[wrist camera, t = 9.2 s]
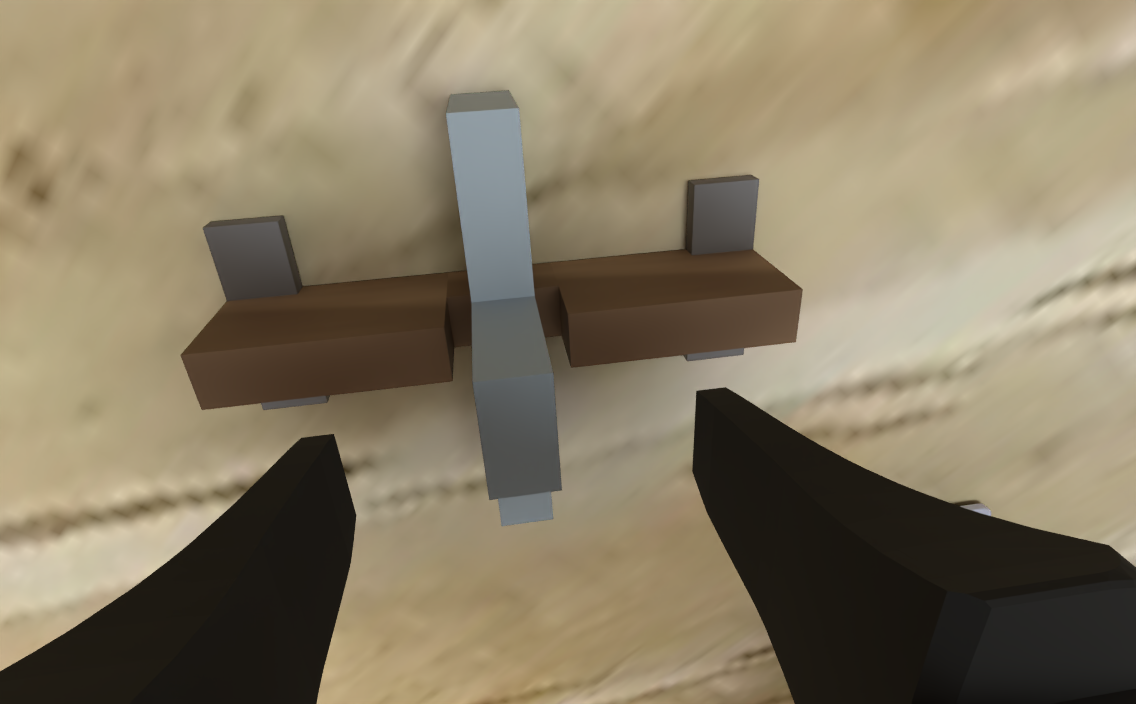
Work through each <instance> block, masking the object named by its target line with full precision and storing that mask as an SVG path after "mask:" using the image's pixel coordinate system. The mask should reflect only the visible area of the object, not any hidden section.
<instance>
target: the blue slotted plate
mask: <svg viewBox="0 0 1136 704" xmlns="http://www.w3.org/2000/svg"><path fill="white" fill-rule="evenodd" d="M446 118H447V125H448V132H449V140H450V147H451V155H452V162H453V169H454V177H455V184H456V192H457V199H458V206H459V214H460V221H461V229H462V236H463V243H464V251H465V258H466V265H467V273H468V280H469V288H470V295H471V302H472V382H473V389H474V396H475V403H476V410H477V417H478V424H479V431H480V438H481V445H482V452H483V459H484V466H485V473H486V480H487V487H488V494H489V500H493V499H498V502H499V509H500V517H501V524H502V526H507V525H514V524H522V523H529V522H536V521H543V520H551V519H553V509H552V497H551V492H553V491H560V490H562V485H561V472H560V458H559V445H558V431H557V417H556V403H555V390H554V376H553V370H552V366H551V361H550V357H549V353H548V349H547V345H546V341H545V337H544V333H543V328H542V324H541V320H540V316H539V312H538V308H537V304H536V299H535V294H534V282H533V270H532V258H531V246H530V234H529V222H528V210H527V198H526V186H525V174H524V162H523V151H522V139H521V127H520V115H519V107H518V105H517V104H516V102H515V100H514V99H513V97H512V95H511V93H510V92H509V90H508V91H494V92H480V93H466V94H451V95H450V98H449V103H448V107H447V111H446Z"/></svg>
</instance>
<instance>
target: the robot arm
mask: <svg viewBox="0 0 1136 704" xmlns="http://www.w3.org/2000/svg"><path fill="white" fill-rule="evenodd" d="M692 471H693V474H694V477H695V480H696V483H697V486H698V489H699V492H700V495H701V497H702V500H703V503H704V505H705V508H706V511H707V513H708V515H709V517H710V519H711V521H712V523H713V525H714V527H715V529H716V531H717V533H718V535H719V537H720V539H721V541H722V543H723V545H724V547H725V549H726V551H727V553H728V554H729V556H730V558H731V560H732V562H733V564H734V566H735V568H736V570H737V572H738V574H739V575H740V577H741V579H742V581H743V583H744V585H745V587H746V589H747V591H748V593H749V595H750V596H751V598H752V600H753V602H754V604H755V606H756V608H757V610H758V613H759V615H760V617H761V619H762V621H763V623H764V625H765V628H766V630H767V633H768V635H769V638H770V640H771V643H772V646H773V648H774V651H775V653H776V656H777V658H778V661H779V663H780V666H781V668H782V671H783V673H784V676H785V679H786V681H787V684H788V687H789V689H790V692H791V695H792V697H793V700H794V703H795V704H1136V567H1135V566H1134V565H1132V564H1131V563H1130V562H1129V561H1127V560H1126V559H1125V558H1124V557H1123V556H1121V555H1120V554H1119V553H1118V552H1117V551H1115V550H1114V549H1113V548H1112V547H1110V546H1109V545H1105V544H1100V543H1096V542H1092V541H1087V540H1083V539H1078V538H1074V537H1070V536H1065V535H1061V534H1056V533H1052V532H1048V531H1043V530H1039V529H1035V528H1031V527H1027V526H1023V525H1020V524H1016V523H1013V522H1009V521H1006V520H1002V519H999V518H995V517H992V516H991V511H990V509H989V508H988V507H987V506H985V505H984V504H971V505H964V506H957V505H954V504H951V503H948V502H946V501H943V500H940V499H937V498H935V497H932V496H929V495H926V494H924V493H921V492H918V491H916V490H913V489H911V488H908V487H906V486H903V485H901V484H898V483H896V482H894V481H892V480H889V479H887V478H885V477H883V476H880V475H878V474H876V473H874V472H871V471H869V470H867V469H865V468H863V467H861V466H859V465H857V464H855V463H853V462H851V461H849V460H847V459H845V458H843V457H841V456H839V455H837V454H835V453H834V452H832V451H830V450H828V449H826V448H824V447H822V446H821V445H819V444H817V443H815V442H814V441H812V440H810V439H808V438H807V437H805V436H803V435H802V434H800V433H798V432H797V431H795V430H793V429H792V428H790V427H788V426H787V425H785V424H784V423H782V422H780V421H779V420H777V419H776V418H774V417H772V416H771V415H769V414H768V413H766V412H765V411H763V410H761V409H760V408H758V407H757V406H755V405H754V404H752V403H750V402H749V401H747V400H746V399H744V398H743V397H741V396H739V395H738V394H736V393H734V392H733V391H731V390H729V389H727V388H726V387H725V388H717V389H709V390H700V391H696V411H695V431H694V451H693V470H692ZM355 522H356V513H355V509H354V505H353V502H352V498H351V494H350V491H349V487H348V484H347V480H346V476H345V473H344V469H343V465H342V462H341V458H340V454H339V451H338V447H337V444H336V440H335V436H334V434H330V435H321V436H313V437H305V438H301V439H300V440H299V441H297V442H296V443H295V444H294V445H293V446H292V447H291V448H290V449H289V450H288V451H287V452H286V453H285V454H284V455H283V456H282V457H281V458H280V459H279V460H278V461H277V462H276V463H275V464H274V465H273V466H272V467H271V468H270V469H269V470H268V471H267V472H266V473H265V474H264V475H263V476H262V477H261V478H260V479H259V480H258V481H257V482H256V483H255V484H254V485H253V486H252V487H251V488H250V489H249V490H248V491H247V492H246V493H245V494H244V495H243V496H242V497H241V498H240V499H239V500H238V501H237V502H236V503H235V504H234V505H232V506H231V507H230V508H229V509H228V510H227V511H226V512H225V513H224V514H222V515H221V516H220V517H219V518H218V519H217V520H216V521H215V522H214V523H212V524H211V525H210V526H209V527H208V528H207V529H206V530H205V531H204V532H202V533H201V534H200V535H199V536H198V537H197V538H196V539H195V540H193V541H192V542H191V543H190V544H189V545H188V546H186V547H185V548H184V549H183V550H182V551H180V552H179V553H178V554H177V555H175V556H174V557H173V558H172V559H170V560H169V561H168V562H167V563H165V564H164V565H163V566H161V567H160V568H159V569H157V570H156V571H155V572H154V573H152V574H151V575H150V576H148V577H147V578H146V579H144V580H143V581H142V582H140V583H139V584H138V585H136V586H135V587H133V588H132V589H131V590H129V591H128V592H126V593H125V594H123V595H122V596H120V597H119V598H117V599H116V600H114V601H113V602H111V603H110V604H109V605H107V606H106V607H104V608H103V609H101V610H100V611H98V612H97V613H95V614H94V615H92V616H91V617H89V618H88V619H86V620H85V621H83V622H82V623H80V624H79V625H77V626H76V627H74V628H73V629H71V630H69V631H68V632H66V633H65V634H63V635H61V636H60V637H58V638H56V639H55V640H53V641H51V642H50V643H48V644H46V645H45V646H43V647H42V648H40V649H38V650H37V651H35V652H33V653H32V654H30V655H28V656H26V657H25V658H23V659H21V660H19V661H18V662H16V663H14V664H12V665H11V666H9V667H7V668H5V669H4V670H2V671H0V704H316V703H317V697H318V692H319V687H320V682H321V678H322V673H323V669H324V665H325V661H326V657H327V654H328V650H329V646H330V642H331V638H332V634H333V631H334V627H335V623H336V619H337V615H338V611H339V608H340V604H341V600H342V596H343V592H344V588H345V584H346V580H347V576H348V572H349V568H350V564H351V557H352V549H353V542H354V532H355Z"/></svg>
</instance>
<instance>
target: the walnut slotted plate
mask: <svg viewBox="0 0 1136 704" xmlns="http://www.w3.org/2000/svg"><path fill="white" fill-rule="evenodd" d="M758 187H759V179H758V178H756V177H754V176H752V175H746V176H735V177H723V178H712V179H700V180H689V182H688V208H687V235H686V249H684V250H674V251H664V252H654V253H643V254H633V255H623V256H612V257H602V258H592V259H582V260H571V261H561V262H551V263H541V264H532V270H533V282H534V294H535V299H536V304H537V308H538V312H539V316H540V320H541V324H542V328H543V333H544V337H553V336H562V338H563V342H564V345H565V349H566V352H567V355H568V359H569V362H570V365H571V368H573V367H582V366H591V365H599V364H608V363H617V362H626V361H634V360H643V359H652V358H661V357H669V356H678V355H684V357H685V358H686V360H687V361H694V360H702V359H711V358H720V357H728V356H737V355H743V354H744V348H748V347H757V346H766V345H774V344H783V343H792V342H796V336H797V329H798V321H799V314H800V306H801V298H802V291H803V289H802V288H800V287H799V286H798V285H797V284H795V283H794V282H793V281H792V280H790V279H789V278H788V277H787V276H785V275H784V274H783V273H782V272H780V271H779V270H778V269H777V268H775V267H774V266H773V265H772V264H770V263H769V262H768V261H767V260H765V259H764V258H763V257H762V256H761V255H759V254H758V253H757V252H756V251H754V250H753V243H754V232H755V221H756V209H757V198H758ZM203 230H204V233H205V236H206V239H207V242H208V245H209V248H210V251H211V254H212V257H213V260H214V263H215V266H216V269H217V272H218V275H219V278H220V281H221V284H222V287H223V290H224V293H225V296H226V299H227V302H226V303H225V304H224V305H223V306H222V308H221V309H220V310H219V311H218V312H217V313H216V315H215V316H214V317H213V318H212V319H211V320H210V322H209V323H208V324H207V325H206V326H205V327H204V329H203V330H202V331H201V332H200V333H199V334H198V336H197V337H196V338H195V339H194V340H193V341H192V342H191V344H190V345H189V346H188V347H187V348H186V349H185V351H184V352H183V353H182V354H181V358H182V360H183V363H184V365H185V368H186V370H187V373H188V376H189V378H190V381H191V383H192V386H193V389H194V391H195V394H196V396H197V399H198V401H199V404H200V407H201V409H202V410H205V409H214V408H223V407H232V406H240V405H249V404H258V403H261V405H262V408H263V410H269V409H277V408H286V407H295V406H303V405H312V404H321V403H327V402H328V400H329V397H330V395H337V394H345V393H354V392H363V391H372V390H380V389H389V388H398V387H407V386H415V385H424V384H433V383H442V382H450V381H453V361H454V347H461V346H470V345H472V302H471V295H470V288H469V280H468V273H467V271H458V272H448V273H438V274H428V275H417V276H407V277H397V278H387V279H376V280H366V281H356V282H345V283H335V284H325V285H315V286H304V287H302V284H301V280H300V276H299V272H298V269H297V265H296V261H295V258H294V254H293V250H292V246H291V243H290V239H289V235H288V231H287V228H286V224H285V220H284V217H283V216H272V217H260V218H248V219H237V220H225V221H214V222H210V223H208V224H207V225H206V226H204V227H203Z"/></svg>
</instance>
